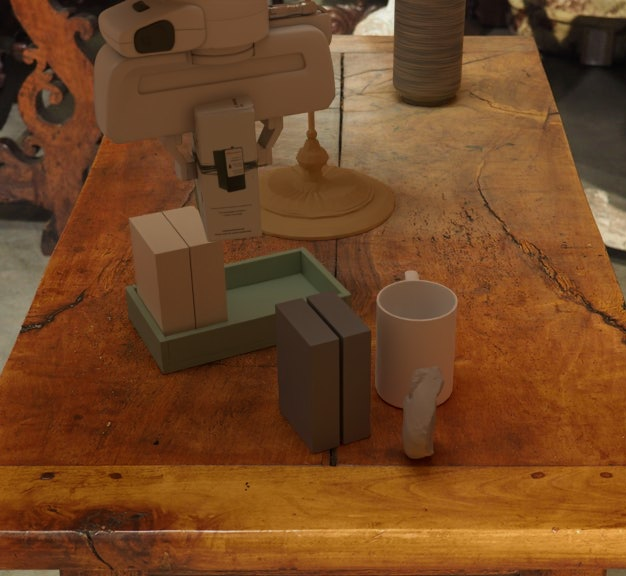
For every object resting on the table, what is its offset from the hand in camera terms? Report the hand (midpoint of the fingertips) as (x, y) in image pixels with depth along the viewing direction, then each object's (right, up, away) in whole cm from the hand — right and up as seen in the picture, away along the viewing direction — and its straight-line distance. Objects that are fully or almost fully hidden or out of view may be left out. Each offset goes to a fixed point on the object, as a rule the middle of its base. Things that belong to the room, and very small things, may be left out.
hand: (224, 171), depth 93 cm
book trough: (-2, -14, +27) cm, 30 cm away
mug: (+17, -19, +18) cm, 31 cm away
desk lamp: (+4, +1, +53) cm, 54 cm away
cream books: (-8, -14, +24) cm, 29 cm away
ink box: (0, -4, +2) cm, 5 cm away
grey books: (+8, -23, +11) cm, 27 cm away
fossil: (+17, -26, +6) cm, 32 cm away
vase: (+21, +22, +91) cm, 96 cm away
